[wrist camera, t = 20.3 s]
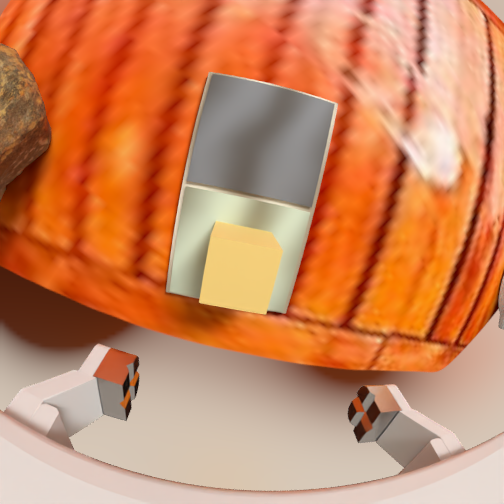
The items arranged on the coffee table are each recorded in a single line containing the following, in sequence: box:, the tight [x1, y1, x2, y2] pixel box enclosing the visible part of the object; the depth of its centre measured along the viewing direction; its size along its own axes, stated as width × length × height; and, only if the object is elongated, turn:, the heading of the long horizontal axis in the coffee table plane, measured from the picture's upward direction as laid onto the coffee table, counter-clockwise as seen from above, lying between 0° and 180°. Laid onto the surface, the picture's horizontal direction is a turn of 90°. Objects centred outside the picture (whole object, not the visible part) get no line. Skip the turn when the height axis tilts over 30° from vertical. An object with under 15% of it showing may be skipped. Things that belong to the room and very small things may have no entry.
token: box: [199, 221, 283, 314], centre depth 22 cm, size 5×5×6 cm
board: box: [166, 72, 338, 313], centre depth 24 cm, size 12×21×1 cm, turn 168°
